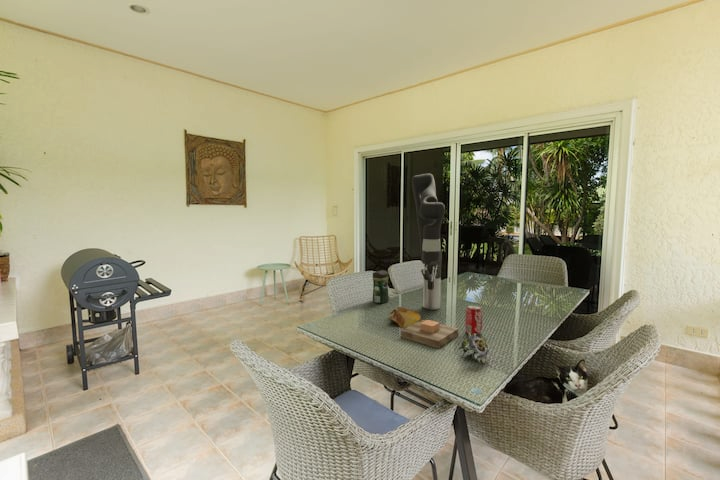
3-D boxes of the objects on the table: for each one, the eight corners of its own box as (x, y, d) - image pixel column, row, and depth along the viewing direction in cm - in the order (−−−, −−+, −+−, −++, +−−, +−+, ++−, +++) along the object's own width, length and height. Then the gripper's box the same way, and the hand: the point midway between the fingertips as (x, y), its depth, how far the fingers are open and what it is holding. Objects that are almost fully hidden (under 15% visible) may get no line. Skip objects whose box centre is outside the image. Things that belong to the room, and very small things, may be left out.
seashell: (425, 311, 170) (416, 315, 156) (422, 326, 170) (413, 331, 157) (394, 303, 177) (383, 306, 164) (392, 317, 177) (380, 321, 164)
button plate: (422, 325, 161) (422, 319, 161) (458, 335, 149) (458, 328, 149) (401, 337, 147) (401, 330, 147) (438, 348, 136) (438, 341, 135)
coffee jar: (380, 298, 208) (380, 268, 206) (390, 301, 203) (390, 270, 201) (370, 302, 201) (370, 271, 199) (380, 304, 196) (380, 272, 194)
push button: (427, 327, 152) (427, 319, 152) (439, 330, 148) (439, 322, 148) (420, 330, 148) (420, 323, 147) (432, 334, 144) (432, 326, 144)
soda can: (483, 331, 153) (484, 306, 152) (479, 337, 147) (480, 310, 146) (467, 329, 157) (467, 303, 156) (463, 334, 151) (464, 307, 150)
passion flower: (481, 376, 124) (481, 359, 117) (453, 363, 130) (452, 346, 123) (492, 352, 130) (493, 334, 123) (465, 340, 136) (464, 322, 129)
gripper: (431, 247, 152) (430, 285, 154) (415, 250, 142) (415, 290, 144) (446, 248, 147) (445, 287, 149) (431, 251, 137) (430, 293, 139)
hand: (430, 289), depth 146 cm, fingers closed
